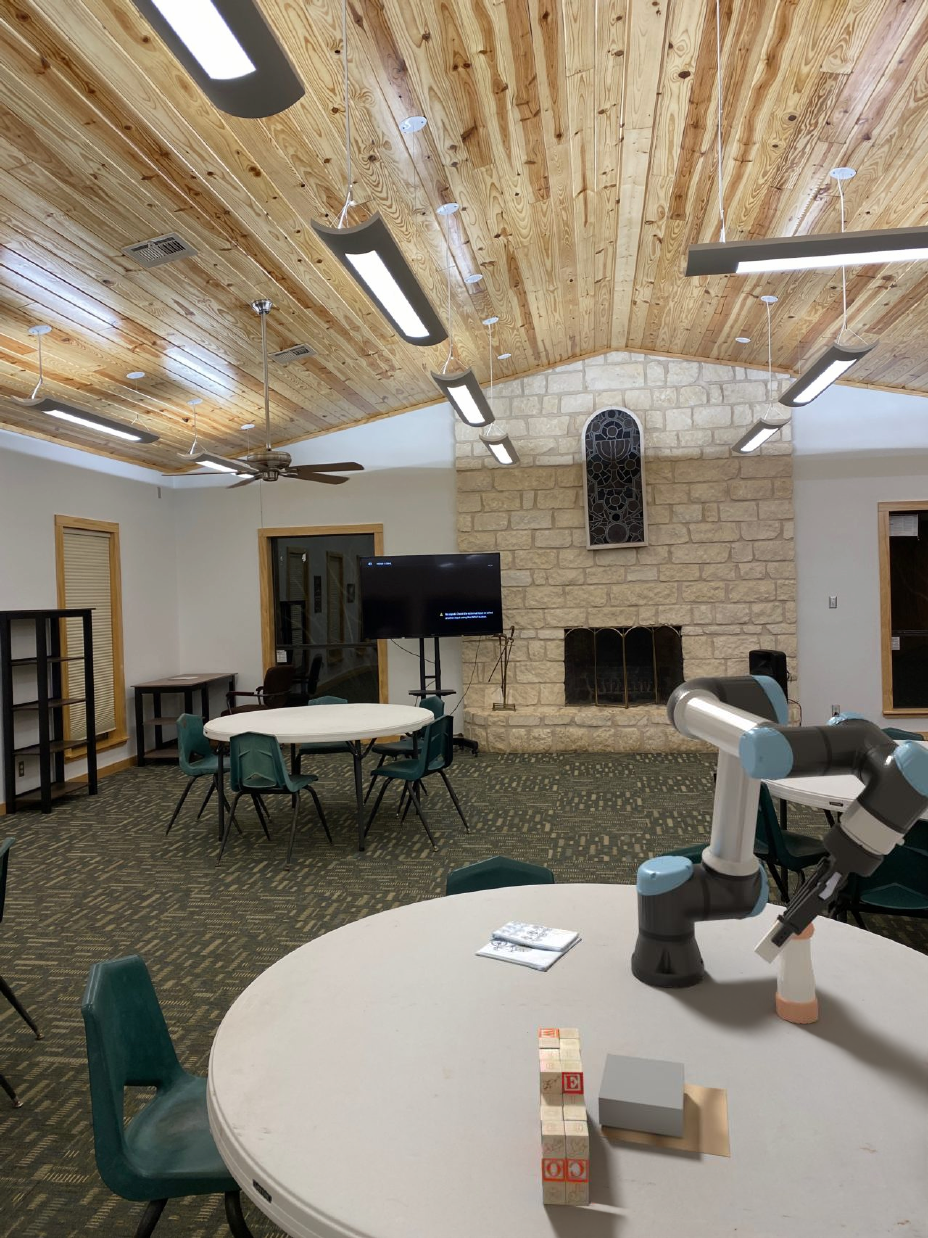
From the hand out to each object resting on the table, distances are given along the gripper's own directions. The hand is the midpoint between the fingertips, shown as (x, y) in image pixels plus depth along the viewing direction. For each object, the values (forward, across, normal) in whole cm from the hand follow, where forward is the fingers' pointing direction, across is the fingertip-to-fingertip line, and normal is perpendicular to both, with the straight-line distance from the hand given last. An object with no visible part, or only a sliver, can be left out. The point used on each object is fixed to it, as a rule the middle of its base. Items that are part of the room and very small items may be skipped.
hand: (762, 955), depth 118 cm
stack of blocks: (+35, -20, +6) cm, 40 cm away
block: (+24, -6, -3) cm, 25 cm away
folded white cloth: (+54, +43, +30) cm, 75 cm away
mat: (+28, -6, -3) cm, 29 cm away
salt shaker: (+19, +34, -16) cm, 42 cm away
